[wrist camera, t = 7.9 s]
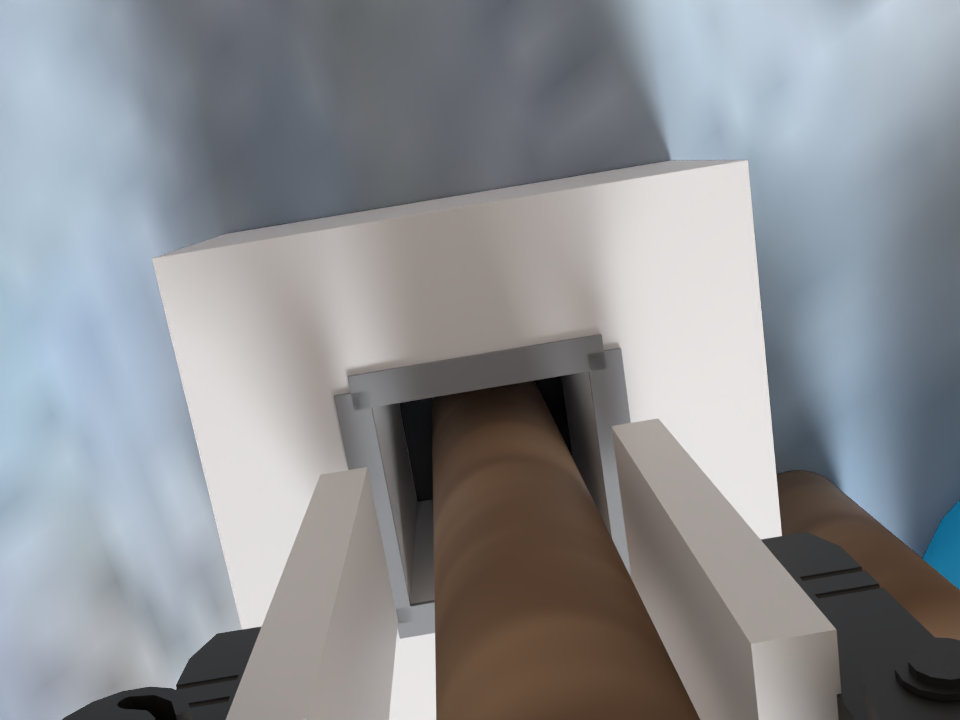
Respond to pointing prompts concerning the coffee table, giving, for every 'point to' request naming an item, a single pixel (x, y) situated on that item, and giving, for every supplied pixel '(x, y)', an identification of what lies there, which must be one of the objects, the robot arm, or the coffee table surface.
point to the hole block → (469, 356)
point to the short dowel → (869, 549)
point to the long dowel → (532, 577)
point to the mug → (946, 547)
